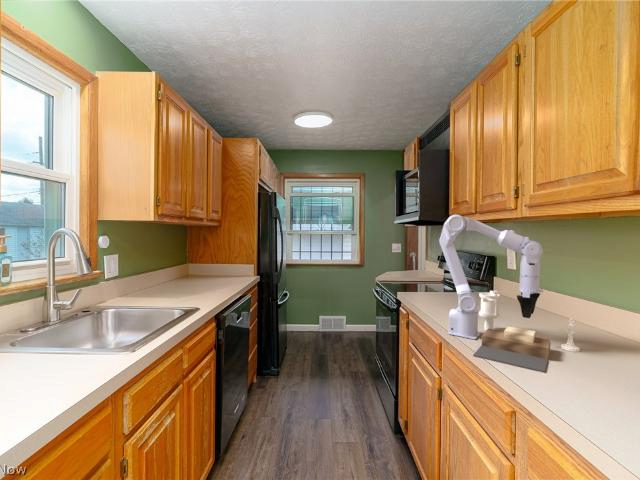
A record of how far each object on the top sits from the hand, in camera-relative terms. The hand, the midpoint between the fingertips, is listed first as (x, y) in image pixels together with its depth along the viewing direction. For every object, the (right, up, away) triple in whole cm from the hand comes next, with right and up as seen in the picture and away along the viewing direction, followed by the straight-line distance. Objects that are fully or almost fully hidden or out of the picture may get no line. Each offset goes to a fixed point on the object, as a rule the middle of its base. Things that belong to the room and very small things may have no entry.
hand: (527, 315), depth 112 cm
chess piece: (+10, -10, -5) cm, 15 cm away
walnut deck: (-8, -10, -5) cm, 13 cm away
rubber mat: (-14, -10, -14) cm, 22 cm away
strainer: (-6, -9, +14) cm, 18 cm away
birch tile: (-6, -6, -5) cm, 10 cm away
